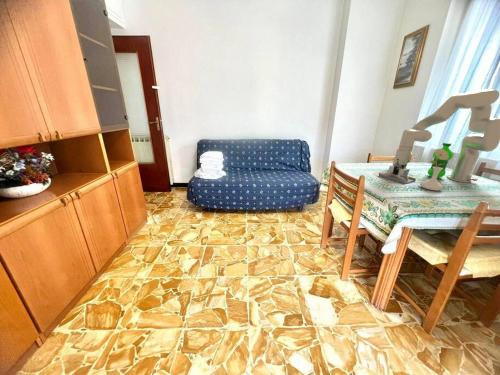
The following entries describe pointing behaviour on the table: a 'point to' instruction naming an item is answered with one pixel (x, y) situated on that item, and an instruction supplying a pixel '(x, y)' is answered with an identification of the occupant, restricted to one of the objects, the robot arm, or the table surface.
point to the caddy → (397, 178)
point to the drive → (402, 171)
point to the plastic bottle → (441, 161)
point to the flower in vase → (435, 172)
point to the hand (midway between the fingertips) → (397, 173)
